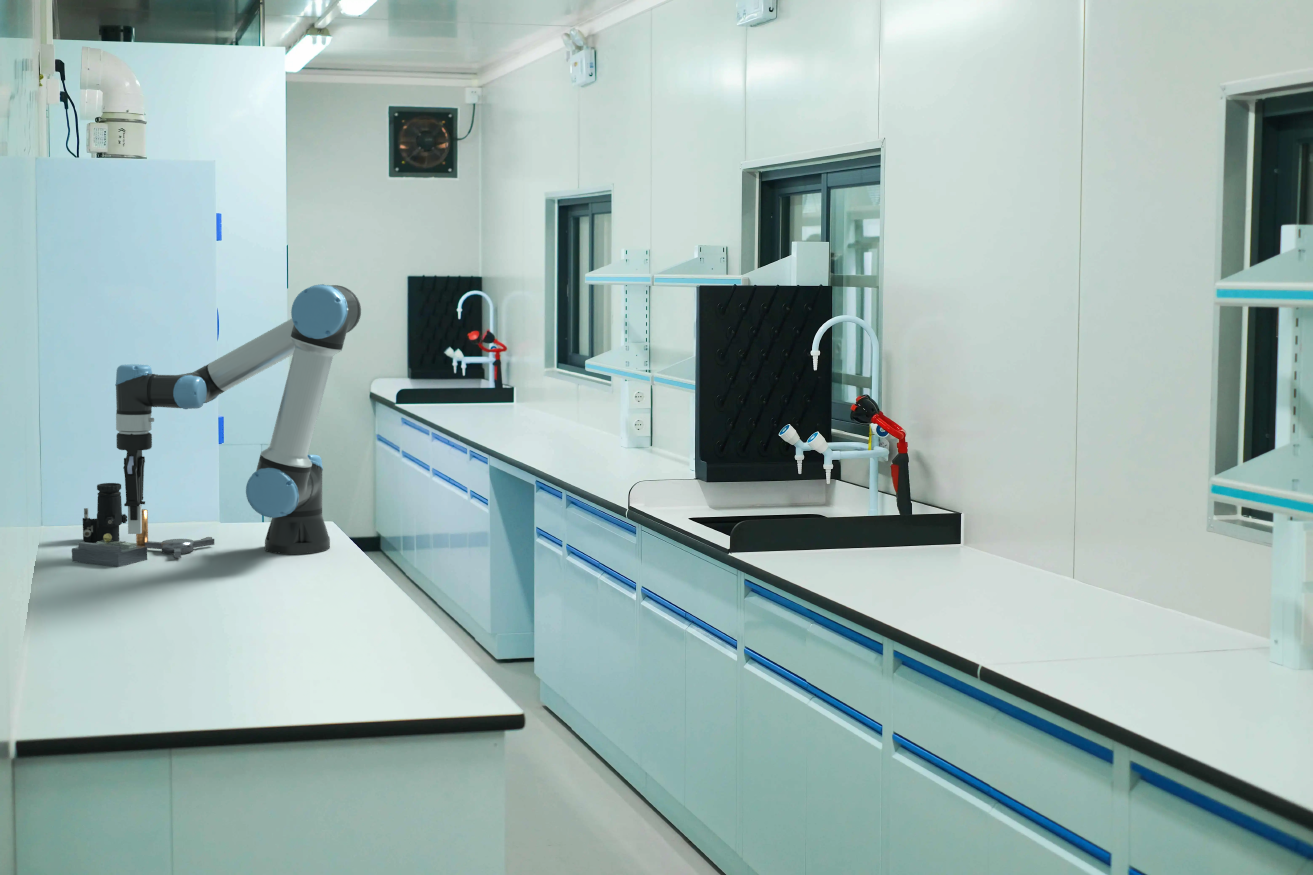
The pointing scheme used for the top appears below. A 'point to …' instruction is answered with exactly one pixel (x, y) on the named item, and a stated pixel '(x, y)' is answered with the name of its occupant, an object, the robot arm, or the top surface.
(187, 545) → the capstan
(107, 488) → the scope
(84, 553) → the level stand
